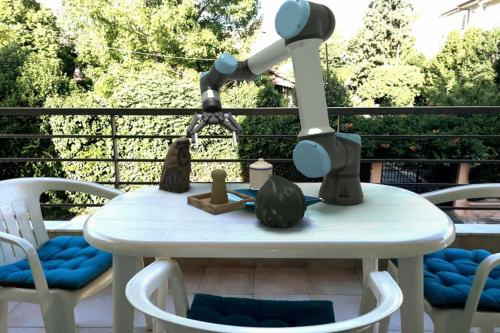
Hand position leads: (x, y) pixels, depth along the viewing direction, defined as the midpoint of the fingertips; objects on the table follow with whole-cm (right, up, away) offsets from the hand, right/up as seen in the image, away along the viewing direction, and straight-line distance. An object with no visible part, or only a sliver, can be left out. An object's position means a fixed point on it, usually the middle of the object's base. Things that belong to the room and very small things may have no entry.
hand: (216, 149), depth 135 cm
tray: (+2, -19, -8) cm, 20 cm away
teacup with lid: (+16, -15, +14) cm, 26 cm away
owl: (-17, -15, +13) cm, 26 cm away
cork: (+2, -18, -8) cm, 20 cm away
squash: (+20, -22, -26) cm, 40 cm away
